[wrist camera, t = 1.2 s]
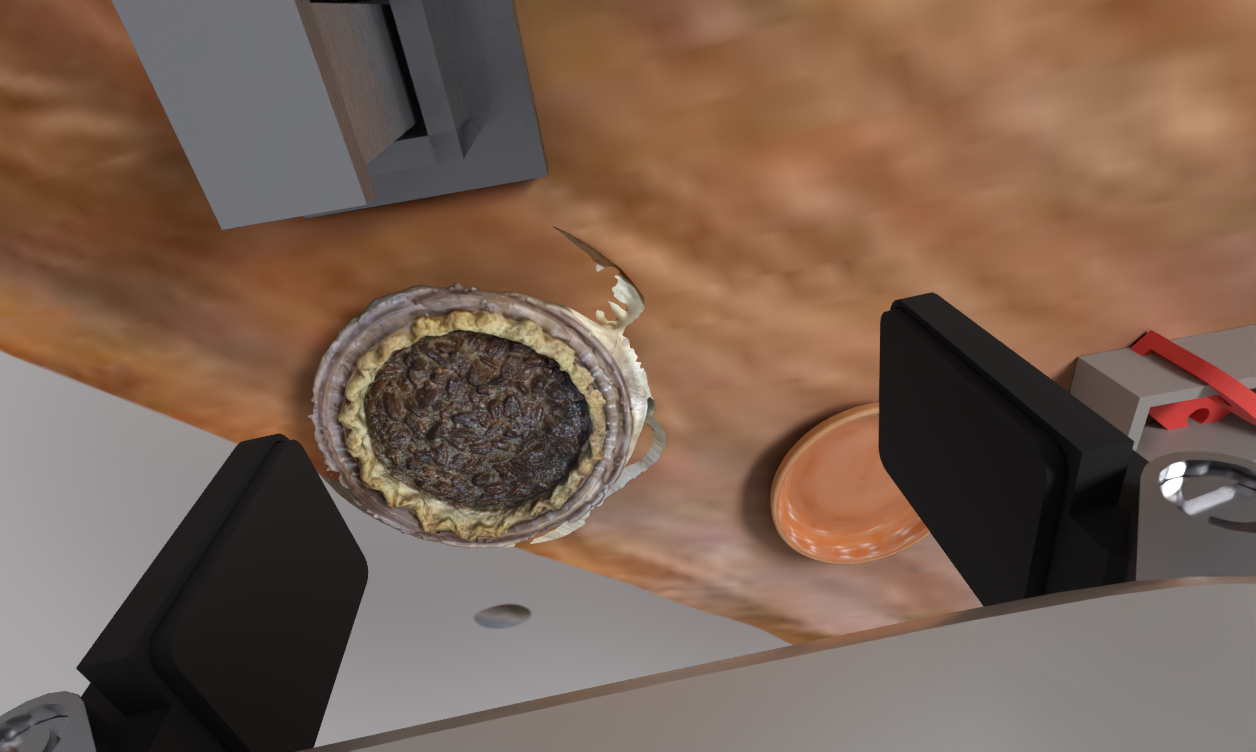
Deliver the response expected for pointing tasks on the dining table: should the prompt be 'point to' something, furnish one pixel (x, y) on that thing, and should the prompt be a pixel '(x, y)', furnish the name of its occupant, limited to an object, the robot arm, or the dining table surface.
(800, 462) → the saucer
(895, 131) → the dining table surface
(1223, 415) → the bracket
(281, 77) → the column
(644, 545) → the dining table surface
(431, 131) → the stand
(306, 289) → the dining table surface
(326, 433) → the pie
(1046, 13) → the dining table surface
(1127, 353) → the bracket rest
